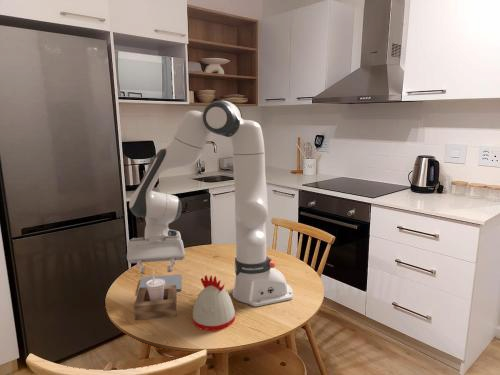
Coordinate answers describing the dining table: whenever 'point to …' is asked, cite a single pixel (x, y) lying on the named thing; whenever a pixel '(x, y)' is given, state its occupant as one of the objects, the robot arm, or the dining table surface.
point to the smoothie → (155, 288)
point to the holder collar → (156, 304)
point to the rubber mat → (168, 281)
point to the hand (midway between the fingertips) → (155, 272)
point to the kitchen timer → (213, 307)
